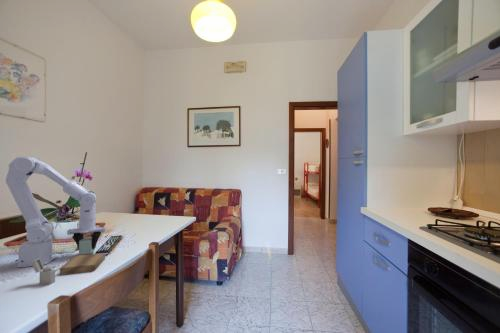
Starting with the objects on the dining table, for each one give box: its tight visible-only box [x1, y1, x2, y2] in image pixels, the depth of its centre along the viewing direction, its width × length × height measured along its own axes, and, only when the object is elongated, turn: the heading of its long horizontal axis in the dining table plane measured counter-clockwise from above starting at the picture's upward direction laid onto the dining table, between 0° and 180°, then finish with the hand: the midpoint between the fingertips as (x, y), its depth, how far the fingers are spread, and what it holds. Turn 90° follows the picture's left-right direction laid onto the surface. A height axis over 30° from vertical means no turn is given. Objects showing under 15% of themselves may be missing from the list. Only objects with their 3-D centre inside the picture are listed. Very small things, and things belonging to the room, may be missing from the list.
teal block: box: [78, 236, 96, 256], centre depth 95 cm, size 4×4×6 cm
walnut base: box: [59, 252, 106, 276], centre depth 84 cm, size 11×11×3 cm
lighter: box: [31, 258, 56, 285], centre depth 72 cm, size 7×2×8 cm, turn 87°
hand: (87, 248), depth 95 cm, fingers closed on teal block, 4 cm apart
